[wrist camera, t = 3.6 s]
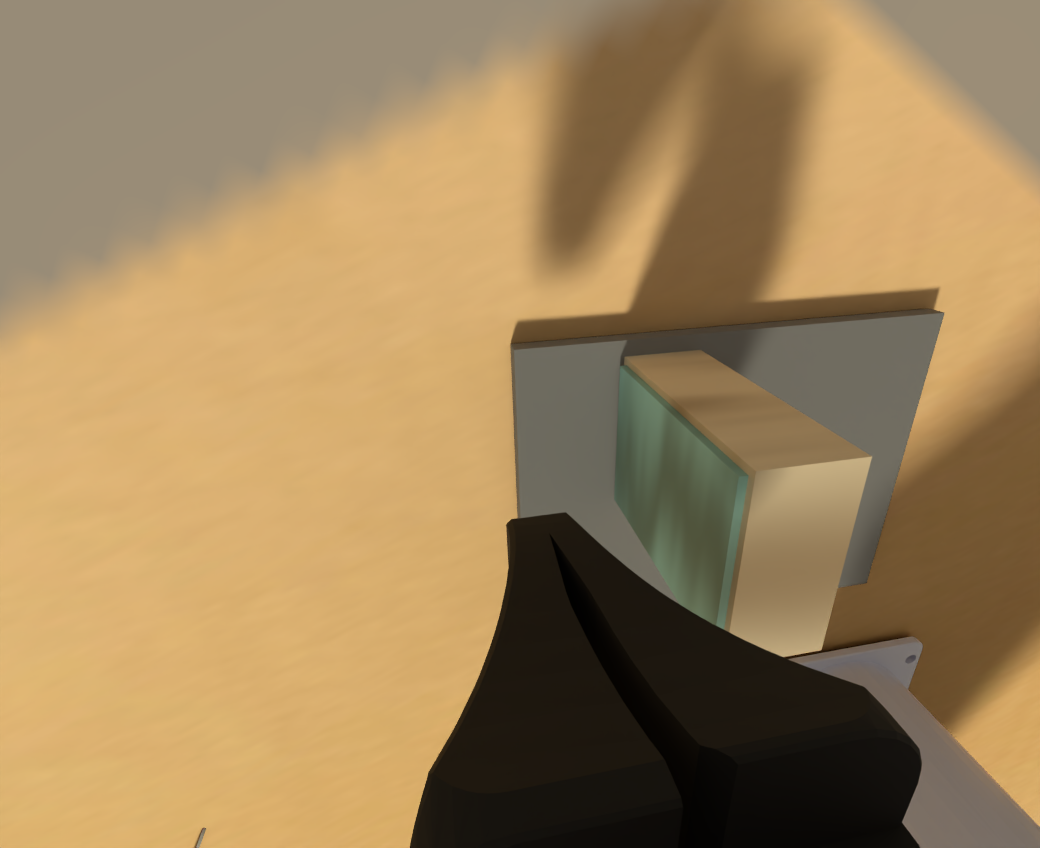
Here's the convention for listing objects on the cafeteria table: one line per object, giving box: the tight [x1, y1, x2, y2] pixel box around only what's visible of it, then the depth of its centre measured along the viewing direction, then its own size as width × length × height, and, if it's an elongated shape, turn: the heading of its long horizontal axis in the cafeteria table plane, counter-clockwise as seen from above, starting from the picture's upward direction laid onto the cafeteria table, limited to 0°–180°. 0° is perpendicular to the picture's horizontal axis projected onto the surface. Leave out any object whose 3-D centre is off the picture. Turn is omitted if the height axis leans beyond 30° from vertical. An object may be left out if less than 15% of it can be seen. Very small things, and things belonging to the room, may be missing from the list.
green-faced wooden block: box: [614, 350, 872, 657], centre depth 15 cm, size 5×3×7 cm, turn 2°
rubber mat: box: [511, 309, 944, 604], centre depth 19 cm, size 11×14×1 cm
